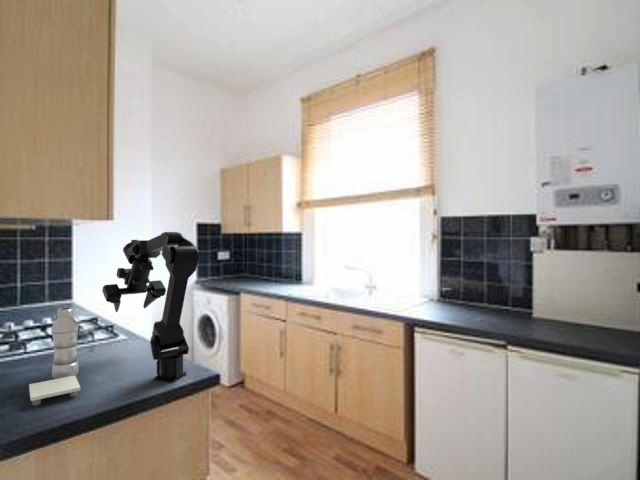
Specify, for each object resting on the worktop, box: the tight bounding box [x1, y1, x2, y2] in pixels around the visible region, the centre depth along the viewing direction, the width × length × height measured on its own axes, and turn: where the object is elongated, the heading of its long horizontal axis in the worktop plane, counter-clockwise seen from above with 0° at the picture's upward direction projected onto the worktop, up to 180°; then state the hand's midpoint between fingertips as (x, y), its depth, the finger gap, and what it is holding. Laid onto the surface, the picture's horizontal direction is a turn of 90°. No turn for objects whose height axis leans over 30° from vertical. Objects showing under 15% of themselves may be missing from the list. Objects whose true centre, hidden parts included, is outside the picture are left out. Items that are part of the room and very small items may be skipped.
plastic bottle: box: [51, 306, 80, 380], centre depth 107 cm, size 6×7×20 cm
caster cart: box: [28, 375, 81, 407], centre depth 96 cm, size 10×10×2 cm
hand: (130, 309), depth 131 cm, fingers open, 9 cm apart
